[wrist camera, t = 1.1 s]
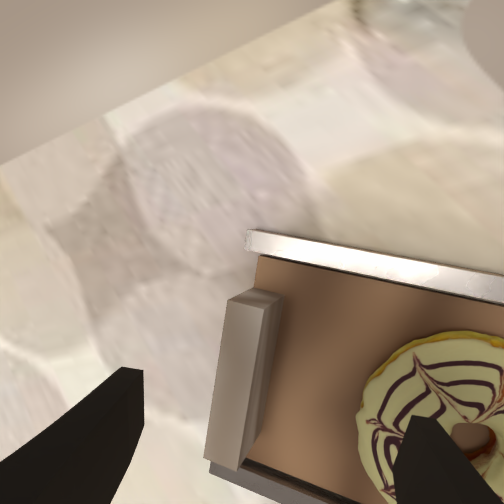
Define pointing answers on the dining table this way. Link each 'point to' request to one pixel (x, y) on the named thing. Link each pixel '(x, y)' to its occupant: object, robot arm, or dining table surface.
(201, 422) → the dining table surface
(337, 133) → the dining table surface
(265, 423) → the brown square board
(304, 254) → the rails
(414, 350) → the decorated donut
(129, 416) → the robot arm
